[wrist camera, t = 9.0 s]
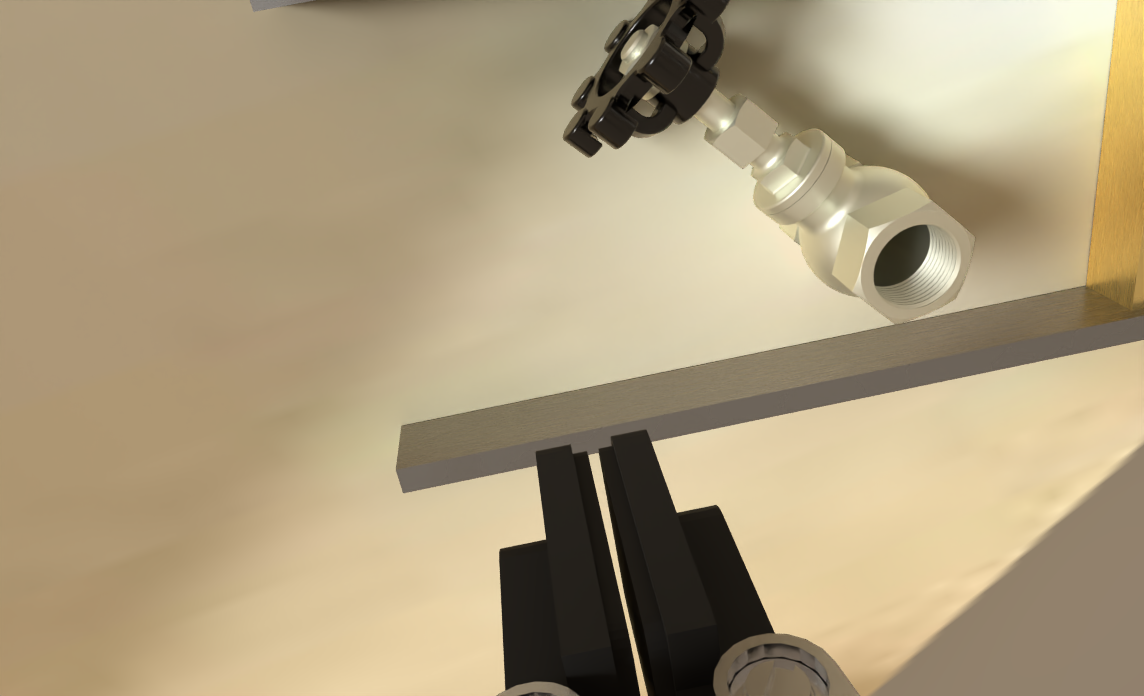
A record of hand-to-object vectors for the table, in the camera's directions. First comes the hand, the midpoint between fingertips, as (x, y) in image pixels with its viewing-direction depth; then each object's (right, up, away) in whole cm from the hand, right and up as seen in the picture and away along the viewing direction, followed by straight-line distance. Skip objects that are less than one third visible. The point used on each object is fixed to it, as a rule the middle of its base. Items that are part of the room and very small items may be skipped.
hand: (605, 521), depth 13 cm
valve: (+6, +10, +17) cm, 20 cm away
